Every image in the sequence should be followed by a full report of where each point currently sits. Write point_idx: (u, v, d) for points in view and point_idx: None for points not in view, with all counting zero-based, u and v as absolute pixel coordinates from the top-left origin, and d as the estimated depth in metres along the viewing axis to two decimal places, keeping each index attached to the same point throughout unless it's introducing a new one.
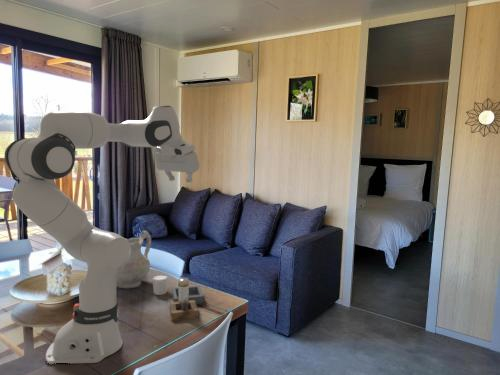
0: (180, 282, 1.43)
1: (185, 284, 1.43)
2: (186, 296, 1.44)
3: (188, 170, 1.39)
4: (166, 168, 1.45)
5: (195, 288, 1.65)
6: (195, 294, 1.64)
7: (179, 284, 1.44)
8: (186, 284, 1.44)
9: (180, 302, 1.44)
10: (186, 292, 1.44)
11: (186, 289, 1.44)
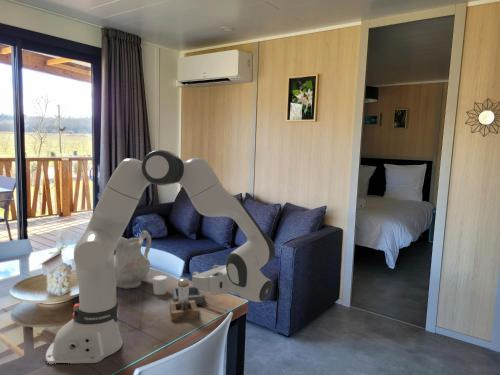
0: (180, 282, 1.43)
1: (185, 284, 1.43)
2: (186, 296, 1.44)
3: (198, 274, 1.27)
4: (223, 266, 1.36)
5: (195, 288, 1.65)
6: (195, 294, 1.64)
7: (179, 284, 1.44)
8: (186, 284, 1.44)
9: (180, 302, 1.44)
10: (186, 292, 1.44)
11: (186, 289, 1.44)
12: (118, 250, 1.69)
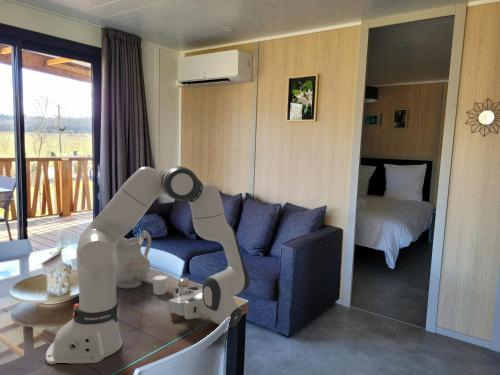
0: (180, 282, 1.43)
1: (185, 284, 1.43)
2: None
3: (175, 298, 1.37)
4: (200, 290, 1.45)
5: (195, 288, 1.65)
6: None
7: (179, 284, 1.44)
8: (186, 284, 1.44)
9: None
10: (186, 292, 1.44)
11: (186, 289, 1.44)
12: (118, 250, 1.69)
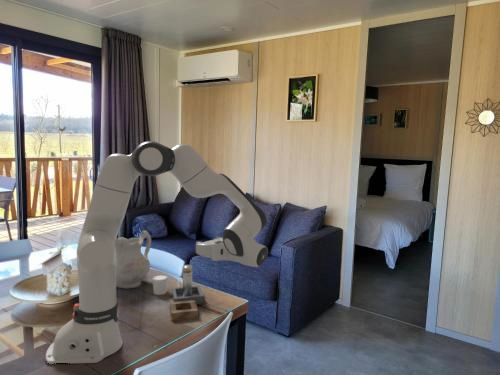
0: (184, 268, 1.56)
1: (189, 270, 1.57)
2: (190, 281, 1.57)
3: (201, 242, 1.39)
4: None
5: (195, 288, 1.65)
6: (195, 294, 1.64)
7: (183, 270, 1.57)
8: (190, 270, 1.57)
9: (184, 287, 1.57)
10: (190, 278, 1.57)
11: (190, 275, 1.57)
12: (118, 250, 1.69)
